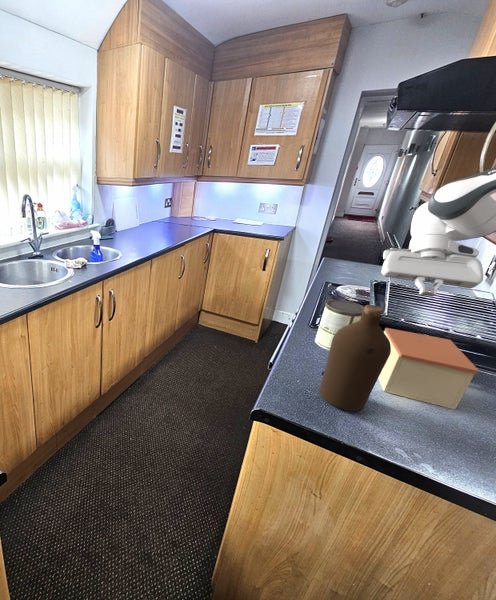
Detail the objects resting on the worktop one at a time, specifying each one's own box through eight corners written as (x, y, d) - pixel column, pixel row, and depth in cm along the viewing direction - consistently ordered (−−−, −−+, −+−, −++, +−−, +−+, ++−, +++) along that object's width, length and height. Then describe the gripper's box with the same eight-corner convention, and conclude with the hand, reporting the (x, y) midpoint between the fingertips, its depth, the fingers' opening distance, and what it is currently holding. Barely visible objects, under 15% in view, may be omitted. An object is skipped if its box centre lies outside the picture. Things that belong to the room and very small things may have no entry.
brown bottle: (379, 410, 77) (420, 316, 67) (340, 416, 76) (376, 320, 66) (341, 382, 87) (372, 296, 77) (306, 387, 85) (333, 299, 75)
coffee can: (317, 333, 113) (329, 296, 107) (354, 344, 106) (368, 305, 101) (311, 345, 106) (322, 306, 100) (349, 357, 100) (364, 316, 94)
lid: (477, 374, 74) (479, 370, 73) (400, 357, 80) (401, 354, 79) (449, 342, 87) (450, 339, 87) (384, 330, 93) (385, 327, 93)
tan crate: (455, 409, 78) (475, 372, 74) (383, 391, 84) (399, 355, 80) (432, 376, 91) (449, 342, 87) (371, 362, 97) (384, 330, 93)
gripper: (388, 241, 95) (384, 282, 90) (487, 250, 86) (487, 296, 81) (379, 252, 100) (375, 292, 96) (471, 263, 91) (471, 307, 87)
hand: (427, 294), depth 88 cm, fingers closed
